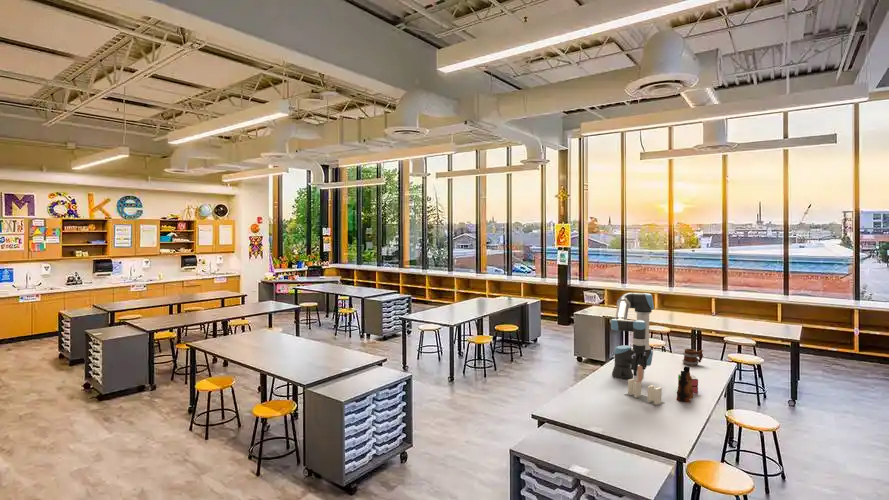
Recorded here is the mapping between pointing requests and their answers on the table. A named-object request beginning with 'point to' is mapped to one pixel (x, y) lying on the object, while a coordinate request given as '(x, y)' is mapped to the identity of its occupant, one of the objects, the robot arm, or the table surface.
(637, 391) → the domino
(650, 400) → the domino
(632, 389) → the domino
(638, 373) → the domino gap
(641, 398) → the mat
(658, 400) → the domino
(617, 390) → the table surface
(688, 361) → the mug
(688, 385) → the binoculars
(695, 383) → the puzzle cube
